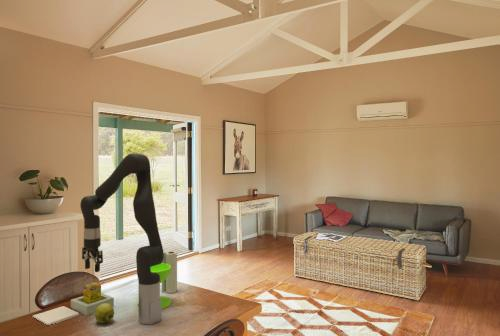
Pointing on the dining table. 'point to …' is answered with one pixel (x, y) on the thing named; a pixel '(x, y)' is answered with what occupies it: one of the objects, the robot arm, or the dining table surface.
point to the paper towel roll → (171, 280)
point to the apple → (104, 313)
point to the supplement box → (92, 293)
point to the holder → (90, 308)
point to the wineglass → (163, 272)
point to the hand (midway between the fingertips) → (92, 270)
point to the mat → (56, 315)
